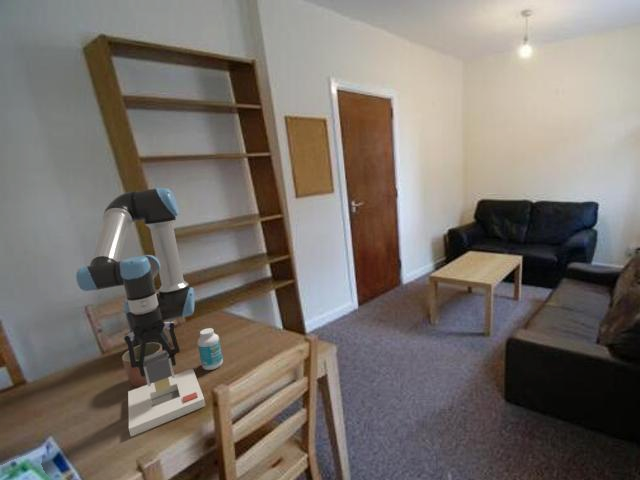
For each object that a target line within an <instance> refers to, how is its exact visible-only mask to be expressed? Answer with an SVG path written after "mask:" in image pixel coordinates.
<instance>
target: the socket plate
mask: <svg viewBox="0 0 640 480" xmlns="http://www.w3.org/2000/svg"><path fill="white" fill-rule="evenodd" d="M174 376H175V377H174V378H172V376H171V377H168V378H169V383H170V388H168V389H165V390H162V391H160V392H157V393H156V389H155V385H154V383H151V386H149V387H148V385H145V386H142V387H137V388H133V389H132V390H128V391H127V393H128V395H127V397H128V401H127V402H128V405H127V406H128V431H129V434H130V435H129V436H130V437H131V438H132V437H133V436H137V435H139V434H141V433H144V432H146V431H148V430H150V429H153V428H156V427H159V426H161V425H163V424H165V423H168V422H170V421H172V420H175V419H177V418H180V417H182V416H185V415H188V414H190V413H193V412H195V411H197V410H199V409H202V408H204V407H206V406H207V405H206V402H205V401H206V400H205V398H204V395H203V392H202V389H201V386H200V384H199V381H198V378H197V376H196V374H195V370H194V368H191V369H188V370H184V371H182V372H179V373H176V374H174Z"/></svg>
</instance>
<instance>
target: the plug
mask: <svg viewBox="0 0 640 480" xmlns="http://www.w3.org/2000/svg"><path fill="white" fill-rule="evenodd" d="M167 355H168V353H167V351H166V350H165V349H164V350H163V351H161V352H158V353H155V354H152V355H149V356H146V357H145V364H146V369H147V373H148V377H149V381H150V384H151V383H154V385H155V389H156V393H157V392H160V391H162V390H165V389H168V388H170V383H169V378H168V377H171V376H172V375H171V370H170V366H169V361H168V357H167Z"/></svg>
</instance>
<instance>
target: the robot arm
mask: <svg viewBox="0 0 640 480" xmlns="http://www.w3.org/2000/svg"><path fill="white" fill-rule="evenodd" d="M179 215H180V211H179V207H178V203H177V201H176V198H175V195H174V193H173V191H172V190H171V189H169V188H166V187H163V188H162V187H157V188H152V189H143V190H134V191H127V192H124V193H122V194H120V195H118V196H117V197H115V198H114V199H113V200H112V201H110V203H109V204H108V205H107V207H106V208H105V210H104V212H103V215H102V220H103V225H102V229H101V232H100V233H99V237H98V240H97V242H96V243H97V244H96V247H95V249H94V253H93V256H92V258H91V260H90V264H89V265H85V266H82V267H80V268H78V269H77V271H76V276H75V277H76V278H75V279H76V283H77V285H78V287H79V289H80V290H82V291H83V292H91V291H99V290H102V289H103V290H104V289H109V288H115V287H119V286H123V287H124V290H125V296H126V300H125V301H124V303H123V308H124V314H125V317H126V322H127V325H128V329H129V333H125V334H124V336H123V337H124V338H123V339H124V342H125V343H126V344H127V351H128V350H129V356H130V362H131V367H132V368H134V367H139V370H140V374H141V376H142V377H143V376H146V380H147V384H148V387H149V386H151V384H150V381H149V377H148V373H147V369H146V364H145V363H144V355H145V347H146V343H152V342H156V343H160V344H161V345H162V350H163V349H164V350H166V353H167V357H168V361H169V366H170V370H171V375H172V378H174V377H175V376H174V375H175V373H174V369H173V367H174V366H176V365H177V363H176V362H177V361H176V359H175V358H176V357H175V355H177V354H179V353H180V352H181V350H180V346H179V343H178V340H177V338H176V333H175V322H174V321H173V320H175V319H181V318H182V319H183V318H186V317H189V316H192V315H193V314H194V312H195V302H196V301H195V291H194V287H190V286H189V282H187V281H185V279H184V276H183V275H184V274H183V270H182V264H181V260H180V254H179V250H178V245H177V240H176V235H175V229H174V224H175V222H176V221H177V218H176V217H178V216H179ZM138 221H143V223H144V226H146V227H148V228H149V229H150V234H151V238H152V239H151V241H152V244H153V250H154V253H155V254H154V255H152V254H145V255H139V256H132V257H129V258H126V259H123V260H121V261H120V259H121V255H122V250H123V248H124V243H125V239H126V235H127V232H128V231H127V230H128V228H129V227H130V226H132V223H133V222H138ZM158 275H159V278H160V283H161V285H160V288H159V289H158V292H159V293H157V292H156V287H155V283H154V279H155V278H156V277H157V276H158ZM164 328H166V330H168V332H169V334H170V337H169V335H168V333H167V332H166V330H165V329H164ZM170 338H171V341H172V344H173V349H172V347H171V345H170ZM139 345H140V353H139V360H138V361H135V354H134V347H136V346H139Z"/></svg>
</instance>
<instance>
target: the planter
mask: <svg viewBox="0 0 640 480" xmlns="http://www.w3.org/2000/svg"><path fill="white" fill-rule="evenodd" d="M161 351H164V350H163V349H162V345H161V344H160V343H156V342H152V343H146V347H145V355H144V363H145V357H146V356H149V355H152V354H155V353H158V352H161ZM139 353H140V345H139V346H136V347H134V354H135V361H138V360H139ZM121 361H122V364H123V367H124V369H125V373H126V376H127V378H128V380H129V383H130V384H131V385H132V386H134V387H137V388H139V387H142V386H145V385H148V384H147V380H146V376H143V377H142V376H141V374H140V370H139V367H134V368H132V367H131V362H130V356H129V350H128V349H127V351H125V352H124V354H123V355H122V357H121Z"/></svg>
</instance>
